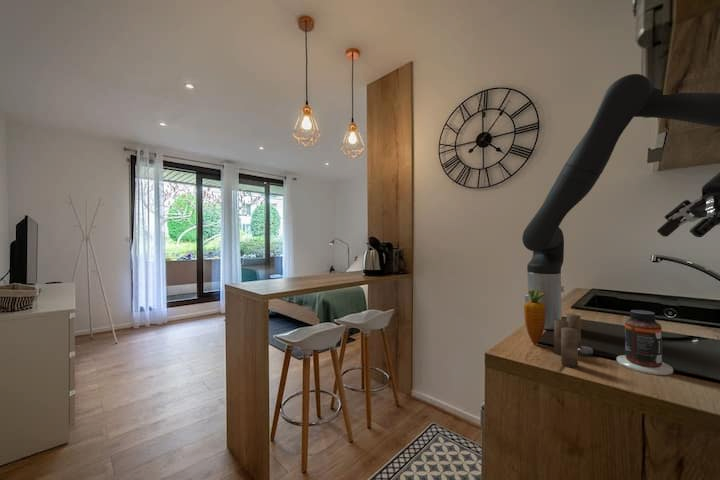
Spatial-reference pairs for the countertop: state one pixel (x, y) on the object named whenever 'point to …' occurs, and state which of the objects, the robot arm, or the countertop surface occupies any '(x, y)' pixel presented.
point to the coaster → (645, 367)
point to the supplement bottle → (643, 339)
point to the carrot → (534, 316)
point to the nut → (585, 351)
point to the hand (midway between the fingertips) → (676, 234)
